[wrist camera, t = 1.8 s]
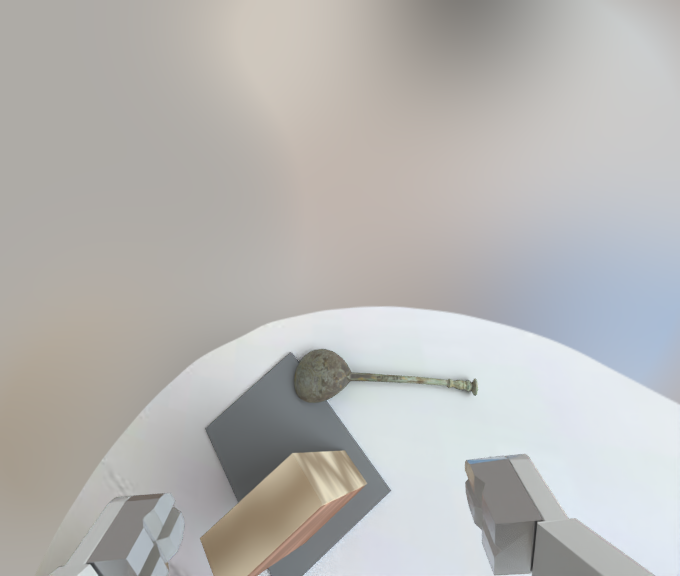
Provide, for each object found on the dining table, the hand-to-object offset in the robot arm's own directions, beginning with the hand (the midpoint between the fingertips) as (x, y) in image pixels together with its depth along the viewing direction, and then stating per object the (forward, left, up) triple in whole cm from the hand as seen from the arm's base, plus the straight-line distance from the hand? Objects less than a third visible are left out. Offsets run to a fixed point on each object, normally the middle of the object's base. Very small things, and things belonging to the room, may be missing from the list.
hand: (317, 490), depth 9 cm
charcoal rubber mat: (+9, +12, -30) cm, 33 cm away
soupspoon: (+8, -2, -30) cm, 31 cm away
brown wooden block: (+3, +10, -29) cm, 31 cm away
